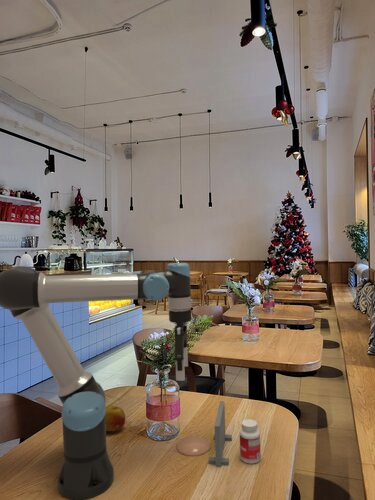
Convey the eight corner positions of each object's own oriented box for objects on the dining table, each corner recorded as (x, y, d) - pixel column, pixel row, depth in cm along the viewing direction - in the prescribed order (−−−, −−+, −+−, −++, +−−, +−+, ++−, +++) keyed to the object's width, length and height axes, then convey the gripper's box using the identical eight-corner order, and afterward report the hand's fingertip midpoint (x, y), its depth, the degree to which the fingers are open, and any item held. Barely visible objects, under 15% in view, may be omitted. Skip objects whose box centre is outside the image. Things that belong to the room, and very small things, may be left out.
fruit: (130, 425, 140) (129, 403, 140) (119, 437, 131) (118, 414, 131) (106, 422, 142) (105, 401, 142) (94, 434, 133) (93, 411, 133)
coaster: (208, 457, 117) (208, 455, 117) (173, 454, 119) (173, 452, 119) (212, 439, 128) (212, 437, 128) (180, 437, 130) (180, 435, 130)
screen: (228, 467, 111) (227, 426, 111) (208, 465, 112) (206, 425, 112) (232, 436, 129) (231, 401, 129) (214, 435, 130) (213, 400, 130)
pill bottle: (238, 453, 118) (237, 418, 118) (257, 452, 119) (256, 417, 119) (243, 465, 112) (242, 428, 112) (263, 463, 113) (262, 426, 112)
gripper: (188, 316, 113) (191, 386, 113) (193, 303, 138) (195, 361, 138) (163, 316, 114) (166, 387, 114) (173, 303, 139) (175, 361, 139)
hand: (182, 372), depth 126 cm, fingers open, 13 cm apart
